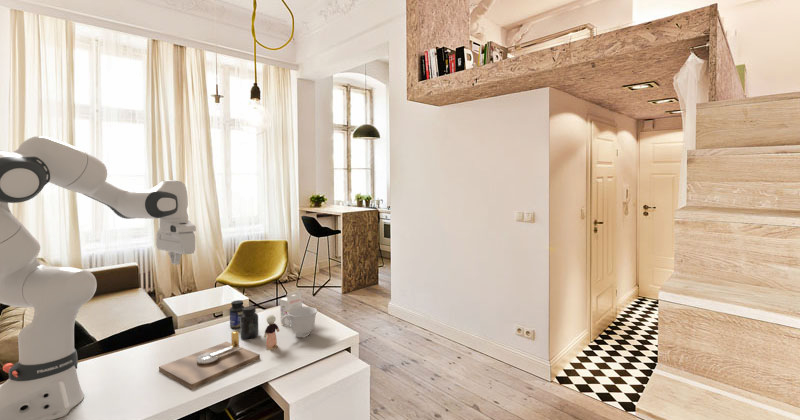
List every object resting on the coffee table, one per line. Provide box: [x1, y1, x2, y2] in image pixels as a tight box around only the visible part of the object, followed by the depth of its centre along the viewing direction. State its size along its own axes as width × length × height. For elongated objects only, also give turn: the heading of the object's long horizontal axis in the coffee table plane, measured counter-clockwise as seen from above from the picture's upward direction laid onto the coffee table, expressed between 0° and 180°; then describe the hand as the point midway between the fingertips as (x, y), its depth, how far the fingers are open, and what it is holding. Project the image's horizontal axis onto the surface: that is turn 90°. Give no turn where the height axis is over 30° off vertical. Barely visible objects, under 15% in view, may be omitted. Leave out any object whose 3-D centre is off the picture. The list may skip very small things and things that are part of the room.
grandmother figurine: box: [263, 314, 280, 351], centre depth 141 cm, size 8×4×13 cm, turn 168°
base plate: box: [158, 341, 261, 390], centre depth 128 cm, size 24×20×2 cm
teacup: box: [282, 306, 318, 338], centre depth 153 cm, size 12×15×10 cm
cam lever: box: [196, 330, 240, 365], centre depth 130 cm, size 14×7×6 cm, turn 147°
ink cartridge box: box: [279, 289, 303, 325], centre depth 167 cm, size 9×5×15 cm, turn 147°
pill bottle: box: [229, 299, 245, 330], centre depth 162 cm, size 6×6×11 cm
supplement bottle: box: [239, 305, 259, 341], centre depth 151 cm, size 7×7×12 cm
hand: (175, 264), depth 134 cm, fingers closed
